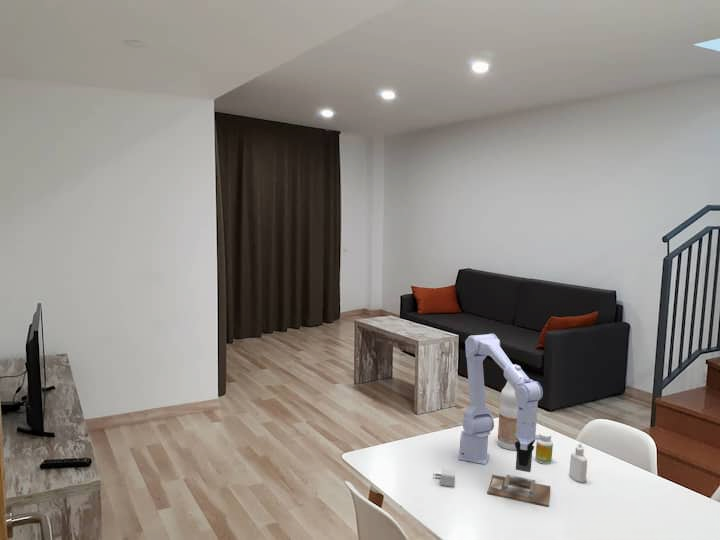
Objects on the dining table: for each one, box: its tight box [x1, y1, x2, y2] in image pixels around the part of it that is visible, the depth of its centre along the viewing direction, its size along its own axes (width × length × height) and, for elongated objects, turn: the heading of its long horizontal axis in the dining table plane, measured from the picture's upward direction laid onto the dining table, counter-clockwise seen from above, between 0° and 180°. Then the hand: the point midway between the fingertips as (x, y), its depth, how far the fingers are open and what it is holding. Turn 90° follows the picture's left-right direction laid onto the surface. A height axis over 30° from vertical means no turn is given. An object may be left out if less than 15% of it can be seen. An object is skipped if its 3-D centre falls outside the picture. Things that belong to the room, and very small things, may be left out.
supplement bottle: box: [535, 431, 554, 465], centre depth 192 cm, size 5×5×10 cm
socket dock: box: [486, 474, 551, 508], centre depth 171 cm, size 18×12×3 cm, turn 69°
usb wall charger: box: [432, 468, 456, 487], centre depth 174 cm, size 4×7×4 cm, turn 78°
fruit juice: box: [497, 380, 518, 451], centre depth 202 cm, size 9×9×28 cm
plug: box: [515, 451, 533, 473], centre depth 171 cm, size 4×3×6 cm
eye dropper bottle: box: [568, 443, 588, 484], centre depth 179 cm, size 4×6×12 cm
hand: (523, 462), depth 171 cm, fingers closed on plug, 3 cm apart
